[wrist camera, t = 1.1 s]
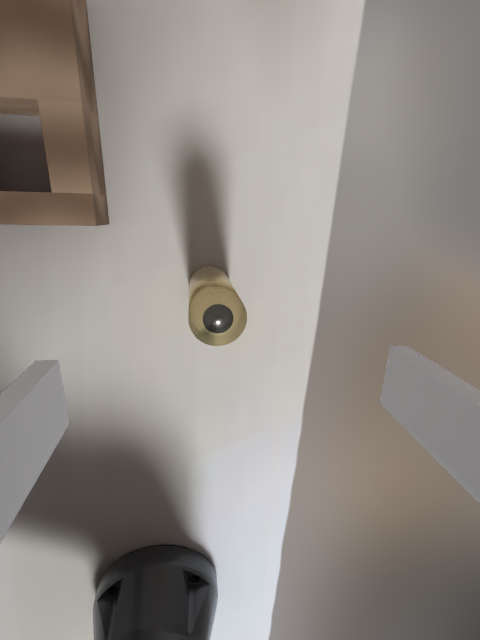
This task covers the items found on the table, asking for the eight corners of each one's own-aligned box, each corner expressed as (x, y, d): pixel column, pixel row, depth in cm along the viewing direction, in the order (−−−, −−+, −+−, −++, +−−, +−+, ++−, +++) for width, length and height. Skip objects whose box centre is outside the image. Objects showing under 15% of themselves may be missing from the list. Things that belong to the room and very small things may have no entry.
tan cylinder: (229, 305, 31) (246, 345, 22) (189, 305, 30) (189, 347, 21) (229, 266, 30) (247, 290, 20) (188, 266, 29) (187, 290, 20)
